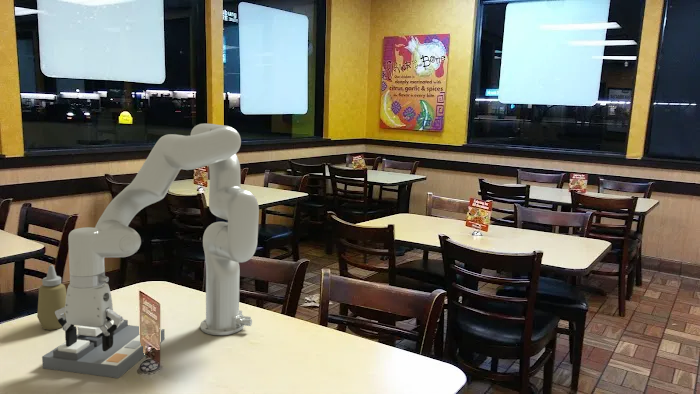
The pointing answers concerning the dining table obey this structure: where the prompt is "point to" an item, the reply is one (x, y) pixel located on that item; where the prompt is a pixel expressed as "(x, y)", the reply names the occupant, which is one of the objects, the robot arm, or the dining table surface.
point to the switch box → (101, 354)
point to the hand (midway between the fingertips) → (89, 346)
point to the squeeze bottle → (51, 300)
